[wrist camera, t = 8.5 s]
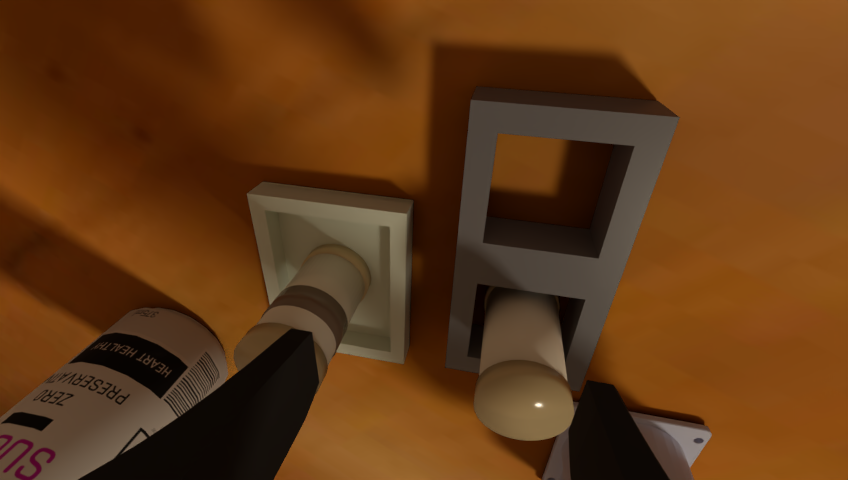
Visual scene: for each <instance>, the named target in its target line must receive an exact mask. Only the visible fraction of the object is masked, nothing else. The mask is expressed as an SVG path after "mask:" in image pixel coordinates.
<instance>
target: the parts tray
mask: <svg viewBox="0 0 848 480" xmlns="http://www.w3.org/2000/svg"><path fill="white" fill-rule="evenodd" d="M247 198H248V203H249V207H250V212H251V217H252V222H253V227H254V231H255V236H256V241H257V246H258V251H259V255H260V260H261V265H262V270H263V275H264V279H265V284H266V289H267V294H268V299H269V303H270V305H271V304H272V302H273V301H274V300H275V298H276V297H277V296H278V295H279V293H280V292H281V291H282V290H284V289H285V287H286V286H287V285H288V284H289V282H290V281H291V280H292V279H293V277H294V276H295V275H296V273H297V272H298V271H299V270H300V268H301V265H302V263H303V261H304V260H305V259H306V258H307V256H308V255H309V254H310V253H311V251H312V250H313V249H315V248H316V247H318V246H321V245H324V244H338V245H342V246H345V247H347V248H350V249H351V250H353V251H355V252H356V253H357V254H359V255H360V256H361V257H362V258H363V259H364V261H365V262H366V264H367V265H368V267H369V270H370V273H371V284H370V287H369V289H368V291H367V293H366V295H365V297H364V299H363V300H362V301H361V302H360V303H359V305H358V307H357V309H356V311H355V313H354V315H353V317H352V319H351V321H350V323H349V325H348V327H347V331H346V333H345V335H344V337H343V339H342V341H341V343H340V345H339V347H338V349H337V351H336V352H339V353H345V354H350V355H356V356H361V357H367V358H372V359H378V360H383V361H389V362H394V363H400V364H404V362H405V359H406V356H407V352H408V349H409V345H410V310H411V275H412V240H413V205H414V200H410V199H401V198H393V197H385V196H377V195H369V194H360V193H352V192H344V191H336V190H327V189H319V188H311V187H303V186H295V185H286V184H278V183H270V182H262V183H260V184H259V185H258V186H256V187H255V188H253V189H252V190H251V191H249V192H248V193H247Z"/></svg>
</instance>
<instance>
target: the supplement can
mask: <svg viewBox="0 0 848 480" xmlns="http://www.w3.org/2000/svg"><path fill="white" fill-rule="evenodd" d="M227 376H228V370H227V362H226V358H225V352H224V350H223V348H222V347H221V345H220V343H219V341H218V340H217V339H216V337H215V336H214V335H213V334H212V333H211V332H210V331H209V330H208V329H207V328H206V327H205V326H203V325H202V324H200V323H199V322H197V321H196V320H194V319H193V318H191V317H189V316H187V315H185V314H182V313H180V312H177V311H175V310H170V309H164V308H153V309H152V308H141V309H136V310H131V311H130V312H128V313H127V314H126V315H125V316H124V317H122V318H121V319H120V320H119V321H117V322H116V323H115V324H114V325H113V326H111V327H110V328H109V329H108V330H107V331H105V332H104V333H103V334H102V335H100V336H99V337H98V338H97V339H96V340H94V341H93V342H92V343H91V344H89V345H88V346H87V347H86V348H85V349H83V350H82V351H81V352H80V353H79V354H77V355H76V356H75V357H74V358H72V359H71V360H70V361H69V362H68V363H66V364H65V365H64V366H63V367H62V368H60V369H59V370H58V371H57V372H55V373H54V374H53V375H52V376H51V377H49V378H48V379H47V380H46V381H45V382H43V383H42V384H41V385H40V386H38V387H37V388H36V389H35V390H34V391H32V392H31V393H30V394H29V395H27V396H26V397H25V398H24V399H23V400H21V401H20V402H19V403H18V404H17V405H15V406H14V407H13V408H12V409H10V410H9V411H8V412H7V413H6V414H4V415H3V416H2V417H1V418H0V480H78V479H79V478H81V477H83V476H85V475H86V474H88V473H90V472H91V471H93V470H95V469H97V468H98V467H100V466H102V465H104V464H105V463H107V462H109V461H111V460H112V459H114V458H116V457H117V456H119V455H121V454H122V453H124V452H126V451H127V450H129V449H131V448H132V447H134V446H135V445H137V444H139V443H140V442H142V441H143V440H145V439H146V438H148V437H149V436H151V435H153V434H154V433H156V432H157V431H159V430H160V429H162V428H163V427H165V426H166V425H168V424H169V423H170V422H172V421H173V420H175V419H176V418H178V417H179V416H181V415H182V414H183V413H185V412H186V411H187V410H189V409H190V408H192V407H193V406H194V405H196V404H197V403H198V402H200V401H201V400H202V399H204V398H205V397H206V396H208V395H209V394H211V393H212V392H213V391H215V390H216V389H217V388H218V387H220V386H221V385H222V384H224V382H225V380H226V378H227Z"/></svg>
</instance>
